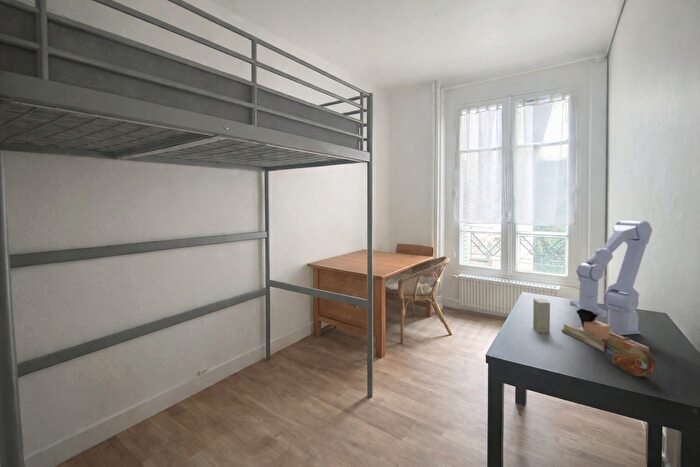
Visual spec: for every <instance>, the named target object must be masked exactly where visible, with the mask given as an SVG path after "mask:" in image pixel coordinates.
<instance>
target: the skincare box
mask: <svg viewBox="0 0 700 467" xmlns="http://www.w3.org/2000/svg"><path fill="white" fill-rule="evenodd" d="M532 316H533V319H532V326H533V329H534V330H535V331H536V332H537V333H544V334H549V333H550V332H551V330H550V327H551V326H550V324H551V323H550V322H551V321H550V318H551V302H550V301H548V300H547V299H545V298H533V315H532Z"/></svg>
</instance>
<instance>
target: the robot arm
mask: <svg viewBox="0 0 700 467" xmlns="http://www.w3.org/2000/svg"><path fill="white" fill-rule="evenodd" d="M612 231H613V232H612V234H611V236H610V237H609V239H608V240H607V241H606V243H605V244H604V245H603V247H602V248H600V247H599V248H597V249H596V250H595V251H594V252H593V253H592V255H590V257H589V258H588V259H587V260H586V262H583V263H580V264H579V265H578V267H577V269H576V270H575V271H576V275H577V277H578V282H579V292H578V294H579V296H578V301H577V300H570V301H569V306H571V307H574V308H577V309H578V310H576V313H577V315H578V317H579V320H580V324H581V325H582V327H583V329H584V322H591V321H596V318H598V316H600V317H601V318H607V322H606V324H607V325H610V332H612V333H615V334H617V335H620V336H626V335H637V334H640V331H638V330H639V314H638V312H637V311H636V310H637V308H638V307H639V303H640V302H639V297H640V293H639V292H638V291H637V290H636V289H635V288H634V286H635V282H636V279H637V276H638V273H639V269H640V267H641V263H642V259H643V257H644V254H645V250H646V248H647V245H648V244H649V242H650V239H651V236H652V232H653V228H652V227H651V224H650V223H649V222H648V221H646V220H642V221H639V220H624V219H620V220H618V221H616V223H615V225H613V226H612ZM623 243H625V244H626V245H627V247H626V251H625V254H624V257H623V260H622V263H621V266H620V268H619V272H618V276H617V278H616V282H615V283H613V284H611V285H608V287H607V290H606V291H605V292H604V293H603V298H602V299H603V302H604V304H605V305H606V307H607V308H608V309H607V310H608V311H606V310H604V309H602V308H600V307H598V295H599V280H600V279H601V278H603V276H604V272H605V269H606V266H607V265H609V263H610V262H611V261H612V260H613V259H614V256H613V253H614V252H615V251H616V250H617V249H618V248H619V247H620V246H621V245H622V244H623Z"/></svg>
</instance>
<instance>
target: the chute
mask: <svg viewBox="0 0 700 467" xmlns="http://www.w3.org/2000/svg"><path fill="white" fill-rule="evenodd" d="M561 332H562V333H563V334H566V335H568V336H571V337H573V338H575V339H577V340H579V341H580V342H584V343H585V344H588V345H590V346H592V347H593V348H596V349H598V350H600V351H602V352H604V344H605V342H606V340H607V339H600V338H598V337H596V336H593V335H591V334H589V333H586V332H584V329H583V327H575V326H573V325H570V324H568V323H563V328H562V329H561ZM609 338H620V339H623V340H626V341H628V342H630V343H632V344H635V345H637V346H639V347H642V348H644V349H646V350H647V351H648V352H649V353H650V354H651V352H650V346H646V345H644V344H642V343H639V342H636V341H635V340H633V339H630V338H629V337H625V336H623V335H618V334H615V333H613V332H609ZM651 355H652V354H651Z"/></svg>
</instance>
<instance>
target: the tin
mask: <svg viewBox="0 0 700 467" xmlns="http://www.w3.org/2000/svg"><path fill="white" fill-rule="evenodd" d="M603 352H604V355H605V356H606V359H607V360H608V361H609V362H610V363H611V364H612V365H614V366H616V367H618V368H620V369H621V370H624V371H626V372H627V373H629V374H631V375H633V376H635V377H648V376H651V375H652V374H653V373H654V372H655V368H656V362H655V359H654V357H653V355H652V354H650V353H651V352H650V351H649V352H650V353H649V352H648V351H647V350H646V349H644V348H642V347H639V346H637V345H635V344H632V343H630V342H628V341H626V340H623V339H620V338H609V339H607V340H606V342H605V344H604V351H603Z"/></svg>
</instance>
